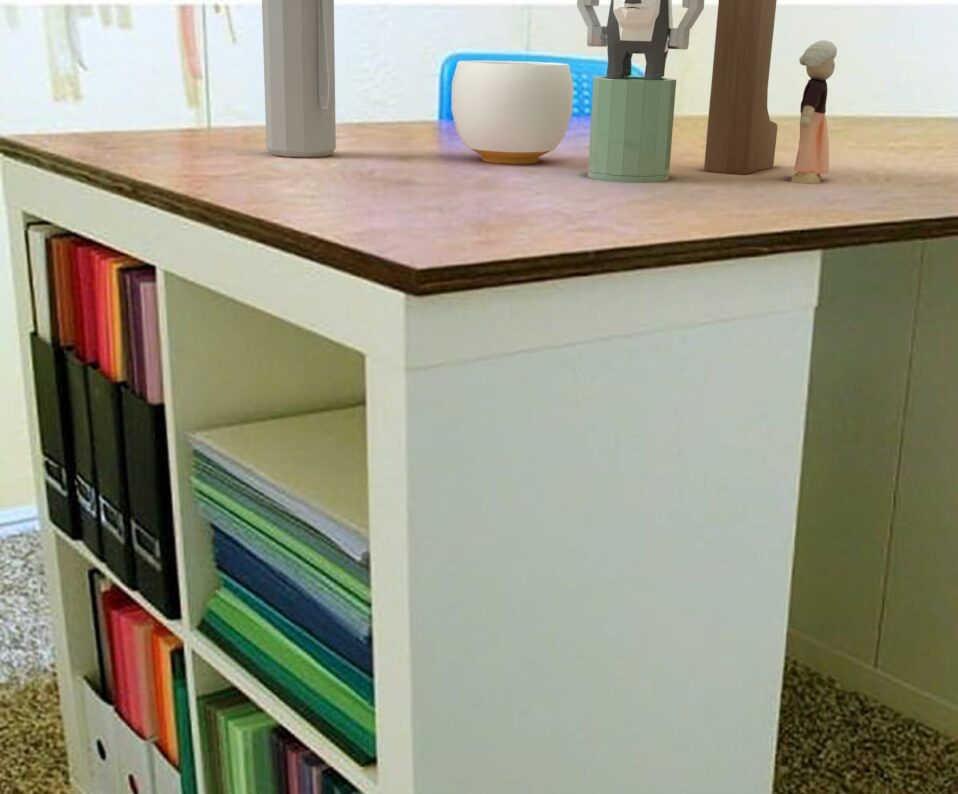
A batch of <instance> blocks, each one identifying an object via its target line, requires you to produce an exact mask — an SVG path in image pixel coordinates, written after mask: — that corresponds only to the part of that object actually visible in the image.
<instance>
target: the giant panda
mask: <svg viewBox="0 0 958 794" xmlns="http://www.w3.org/2000/svg"><path fill="white" fill-rule="evenodd" d="M673 18H674V17H673V1H672V0H610V5H609V11H608V16H607V23H606V26H607V48H606V49H607V69H606V76H607V78H612V79H613V78H615V79H621V78H624V76H632V58H633V54H635V55H637V54H638V55H644V59H645V68H644V76H643V77H644V79H646V80H660V79H662V78H665V71H666V70H665V69H666V63H667V57H668V54H669V51H670V49H668V40H669V37H668V30H669V28H674V20H673Z"/></svg>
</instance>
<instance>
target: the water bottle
mask: <svg viewBox="0 0 958 794" xmlns="http://www.w3.org/2000/svg"><path fill="white" fill-rule="evenodd" d="M261 13H262V14H261V18H262V20H261V21H262V46H263V47H262V50H263V51H262V52H263V76H264V77H263V79H264V83H263V84H264V108H265V109H264V113H265V115H264V116H265V143H266V144H265V145H266V150H267V151H268V152H269V153H270V154H271V155H273V156H276V157H279V158H280V157H282V158H295V159H296V158H297V159H310V158H311V159H312V158H313V159H314V158H326V157H329V156H331V155H332V154H333V153H334V152H335V150H336V148H337V141H336V140H337V139H336V138H337V136H336V135H337V134H336V133H337V132H336V131H337V130H336V68H335V67H336V65H335V64H336V62H335V61H336V59H335V58H336V57H335V0H261Z"/></svg>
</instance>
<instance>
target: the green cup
mask: <svg viewBox="0 0 958 794" xmlns="http://www.w3.org/2000/svg"><path fill="white" fill-rule="evenodd" d="M644 77H645V76H634V75H633V76H632V75H630V76H624V78H621V79H615V78H613V79H612V78H607V75H598V76H596V75H595V76H593V77H592V86H591V87H592V89H591V107H590V125H589V127H590V128H589V143H588V148H589V149H588V160H587V162H588V163H587V170H588V171H587V177H588V178H591V179H593V180H599V181H608V182H621V183H658V182H665V181H668V180H669V175H670V169H671V157H672V144H673V142H672V141H673V131H674V116H675V106H676V105H675V104H676V103H675V102H676V90H677V79H675V78H669V77H662V79H660V80H646V79H644Z"/></svg>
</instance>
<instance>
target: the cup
mask: <svg viewBox="0 0 958 794" xmlns="http://www.w3.org/2000/svg"><path fill="white" fill-rule="evenodd" d="M573 102H574V82H573V78H572V72H571V67H570V65H569V64H568V63H563V62H562V63H561V62H545V61H523V60H478V59H477V60H458V61H457V63H456V66H455V70H454V74H453V77H452V81H451V105H450V106H451V107H450V108H451V114H452V117H453V121H454V125H455V129H456V134H457V135H458V136H459V138H460V140H461V141H462V143H463V144H464V146H465V147H466V148H467V149H469V150H471V151H474V152H475V153H477V154H479V155H480V156H481V160H482V161H483V162H485V163H490V164H502V165H530V164H531V165H532V164H537V163H538V162H539V158H540V157H542V156H544V155H546V154H548V153H551V152H553V151H554V150H556V148H557V147H558V146H559V145H560V143H561V142H562V141H563V139H564V137H565V136H566V133H567V130H568V127H569V124H570V121H571V117H572V115H573V107H574V106H573V104H574V103H573Z"/></svg>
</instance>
